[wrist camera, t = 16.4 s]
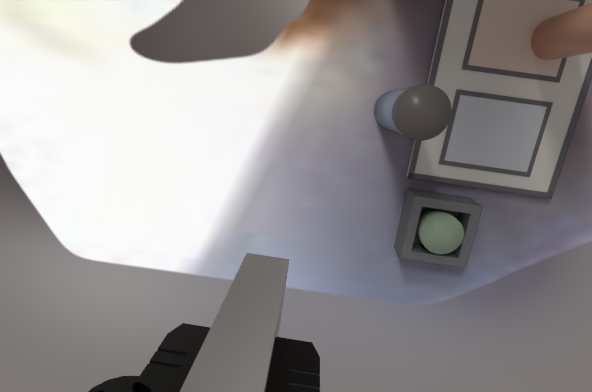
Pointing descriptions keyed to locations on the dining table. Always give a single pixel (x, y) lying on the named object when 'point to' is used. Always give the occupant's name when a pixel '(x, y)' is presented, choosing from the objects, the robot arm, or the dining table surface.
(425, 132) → the slate blue marker
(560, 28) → the terracotta marker
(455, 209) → the button base
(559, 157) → the picture sheet
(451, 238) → the button
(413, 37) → the dining table surface
